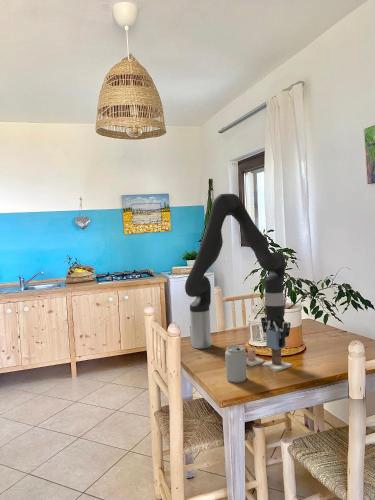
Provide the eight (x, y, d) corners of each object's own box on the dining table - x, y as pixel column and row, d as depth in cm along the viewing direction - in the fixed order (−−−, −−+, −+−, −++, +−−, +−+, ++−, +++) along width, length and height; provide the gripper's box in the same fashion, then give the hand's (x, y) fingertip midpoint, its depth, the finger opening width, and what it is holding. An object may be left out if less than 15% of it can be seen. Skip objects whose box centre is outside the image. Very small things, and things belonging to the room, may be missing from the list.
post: (262, 365, 157) (261, 348, 157) (276, 360, 162) (275, 344, 161) (277, 371, 150) (276, 353, 150) (291, 366, 155) (290, 348, 154)
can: (248, 382, 141) (247, 350, 140) (228, 384, 141) (226, 351, 140) (244, 374, 149) (242, 343, 148) (224, 376, 148) (223, 345, 147)
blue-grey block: (266, 346, 156) (266, 330, 156) (275, 344, 159) (275, 327, 159) (276, 349, 152) (275, 332, 151) (285, 347, 155) (285, 330, 154)
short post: (239, 361, 163) (239, 350, 163) (252, 357, 167) (251, 346, 166) (251, 366, 157) (251, 354, 157) (264, 361, 161) (263, 350, 161)
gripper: (254, 302, 158) (256, 343, 159) (281, 307, 146) (283, 352, 147) (267, 299, 162) (269, 339, 163) (295, 304, 150) (296, 347, 152)
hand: (276, 345), depth 155 cm, fingers closed on blue-grey block, 5 cm apart
